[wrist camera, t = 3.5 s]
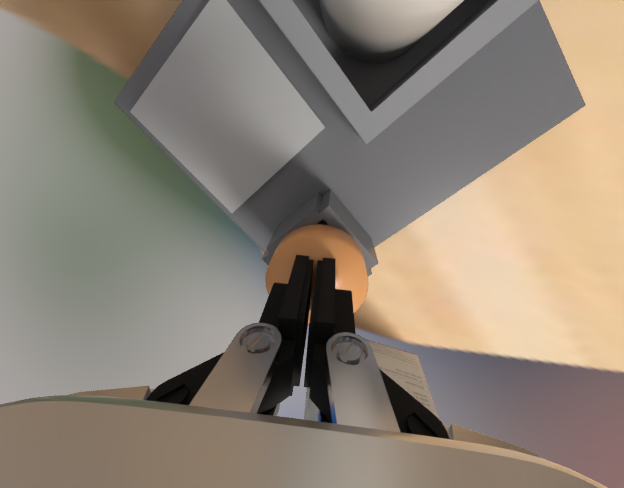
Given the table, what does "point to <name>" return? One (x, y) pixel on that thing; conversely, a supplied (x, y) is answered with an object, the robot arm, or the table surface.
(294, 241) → the glossy orange sphere
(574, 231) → the table surface
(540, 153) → the table surface
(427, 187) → the grey compartment tray
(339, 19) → the cylinder
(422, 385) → the supplement box
